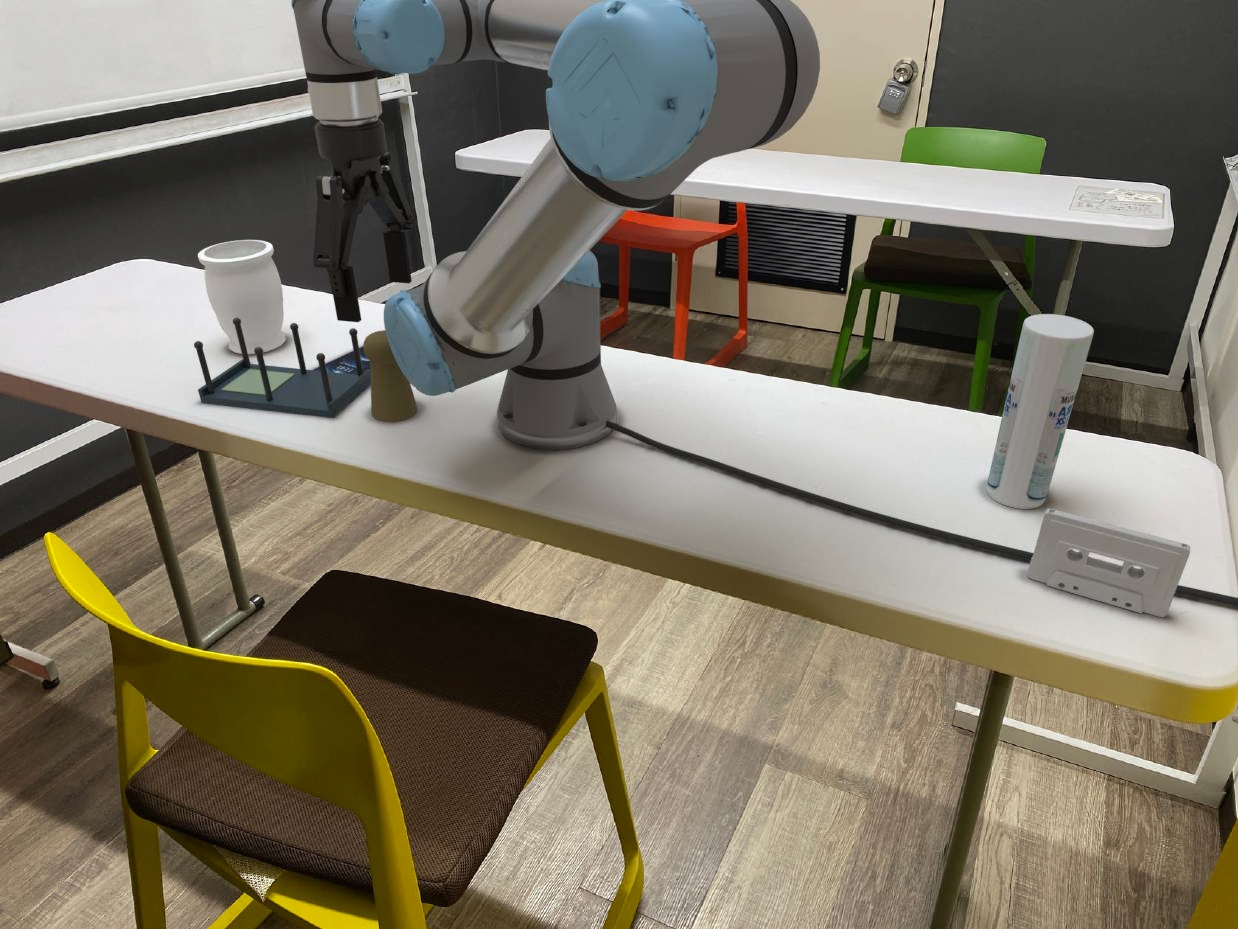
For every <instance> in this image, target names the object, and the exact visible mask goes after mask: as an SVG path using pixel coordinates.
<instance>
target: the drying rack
mask: <svg viewBox="0 0 1238 929" xmlns="http://www.w3.org/2000/svg"><path fill="white" fill-rule="evenodd" d="M233 324H234V325H235V329H236V333H237V337H238V341H239V345H240V349H241V353H242V354H241V356H242V358H241V360H239V361H238V362H236V363H235V364H233V365H232V366H230V367H229V368H227V369H226V370H224V371H222V373H221V372H220V374H219V375H217V376H215V377H214V378H213V379H212V377H211V374H210V370H209V366H208V363H207V359H206V355H205V351H204V348H203V347H204V343H203V342H202V341H200V340H197V341H195V342H194V343H193V347H194V348H195V350H196V354H197V357H198V361H199V364H200V368H201V372H202V376H203V380H204V383H205V384H204V385H202V386H201V387H199V388H198V389H197V392H198V396H199V399H200V403H202V404H211V405H218V406H219V405H220V406H227V407H228V406H229V407H237V408H247V409H254V410H261V411H271V412H272V411H273V412H281V413H288V414H289V413H290V414H299V415H305V416H315V417H323V418H324V417H325V418H333V419H334V418H335V417H336V416H338V414H340V413H341V412H342V411H343V410H344V409H345V408H347V407H348V405H350V404H351V403H352V402H353V401H354V400H356V398H358V397H359V396H360V395H361V394H362V393H363V392H365V391H366V390H367V389H368V387H371V374H370V370H369V369H367V370H366V371H365V372H364V373H363V367H362V362H361V356H360V350H359V348H360V344H359V339H358V330H357V328H354V327H352V328H350V329H349V331H348V334H349V336H350V339H351V344H352V351H354V356H355V362H356V368H357V373H358V375H355V374H345V373H336V372H327V370H326V355H325V354H324V353H323V352H318V353H317V354H316V356H315V358H316V361H317V363H318V367H319V368H320V371H316V370H313V369H307V367H306V362H305V356H304V353H303V346H302V342H301V338H300V333H299V324H298V323H297V322H292V323H290V325H289V329H290V330H291V334H292V338H293V342H294V347H295V352H296V357H297V362H298V366H299V368H297V367H295V368H294V367H287V366H286V367H285V366H276V365H266V362H265V358H264V352H263V349H262V348H261V347H256V348H255V349H254V353H255V354H254V355H255V356H256V360H257V364H256V363H251V358H250V357H249V354H248V352H247V348H246V344H245V340H244V336H243V332H242V328H241V320H240V319H239V318H234V319H233Z"/></svg>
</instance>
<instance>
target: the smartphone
mask: <svg viewBox="0 0 1238 929" xmlns="http://www.w3.org/2000/svg"><path fill="white" fill-rule="evenodd" d="M359 350H360V356H361V362H362V367H363V373H364V372H365V371H366V370H367V369H369V370H370V360H369V359H368V358H367V357H366V355H365V353H364V347H363V346H359ZM325 364H326V370H327V372H336V373H345V374H355V375H358V373H357V368H356V362H355V356H354V351H353V350H351V351H350V352H347V353H345V354H343V355H341V356H340V357H337V358H335V359H333V360H331V361H328V362H325ZM312 370H316V371H320V368H319V366H317V367H314V368H313V369H312Z"/></svg>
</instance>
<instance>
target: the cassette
mask: <svg viewBox="0 0 1238 929" xmlns="http://www.w3.org/2000/svg"><path fill="white" fill-rule="evenodd" d="M1033 553H1034V554H1033V557H1032V558H1031V561H1030V562H1029V566H1028V570H1027V576H1028V579H1031V580H1034V581H1037V582H1040V583H1044V584H1046V586H1047V587H1050V588H1053V589H1057V590H1061V591H1064V592H1068V593H1072V594H1074V595H1078V596H1082V597H1084V598H1088V599H1091V600H1095V601H1098V602H1102V603H1105V604H1109V605H1112V606H1116V607H1118V608H1121V609H1125V610H1130V611H1132V612H1136V613H1139V614H1143V613H1146V614H1149V615H1151V616H1156V617H1159V618H1165V617H1166V616H1167V615H1168V613H1169V610H1170V607H1171V605H1172V602H1173V600H1174V596H1175V594H1176V593H1175V591H1176V588H1177V586H1178V585H1179V583H1180V580H1181V577H1182V575H1183V573H1184V570H1185V568H1186V565H1187V563H1188V560H1189V558H1190V554H1191V546H1190V545H1189V544H1188V543H1184V542H1181V541H1177V540H1172V539H1169V538H1165V537H1162V536H1157V535H1153V534H1150V533H1147V532H1146V533H1145V532H1142V531H1138V530H1134V529H1130V528H1126V527H1124V526H1123V527H1122V526H1118V525H1116V524H1115V525H1114V524H1111V523H1107V522H1105V521H1103V522H1102V521H1099V520H1096V519H1091V518H1088V517H1084V516H1080V515H1076V514H1072V513H1069V512H1065V511H1060V510H1057V509H1053V508H1047V509H1046V510H1045V512H1044V515H1043V518H1042V522H1041V525H1040V529H1039V533H1038V536H1037V540H1036V543H1035V547H1034V550H1033ZM1091 553H1092V554H1094V555H1099V556H1102V557H1106V558H1110V559H1113V560H1117V561H1120V562H1123V564H1122V565H1121V564H1118V563H1114V562H1110V561H1106V560H1103V559H1100V558H1096V557H1091V556H1089V555H1090V554H1091Z"/></svg>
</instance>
